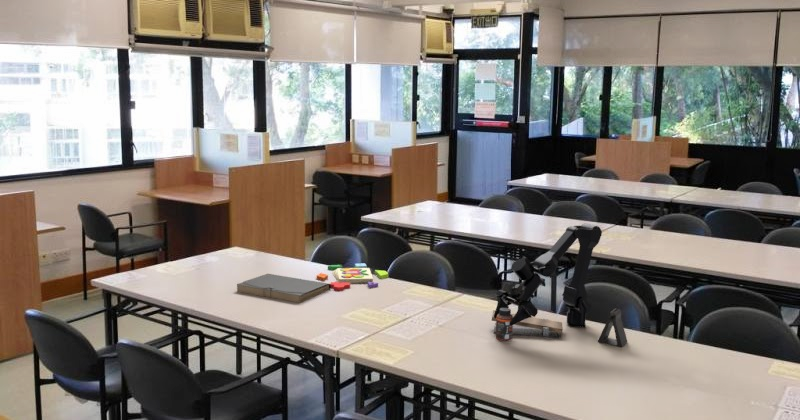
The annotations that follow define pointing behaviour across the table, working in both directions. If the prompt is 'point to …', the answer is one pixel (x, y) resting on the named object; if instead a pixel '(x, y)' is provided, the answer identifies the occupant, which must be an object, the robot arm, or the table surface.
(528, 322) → the balance beam
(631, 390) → the table surface
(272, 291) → the file folder
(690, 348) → the table surface
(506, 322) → the supplement bottle
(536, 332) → the beam stand
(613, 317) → the grey a-frame stand
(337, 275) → the pattern blocks set
